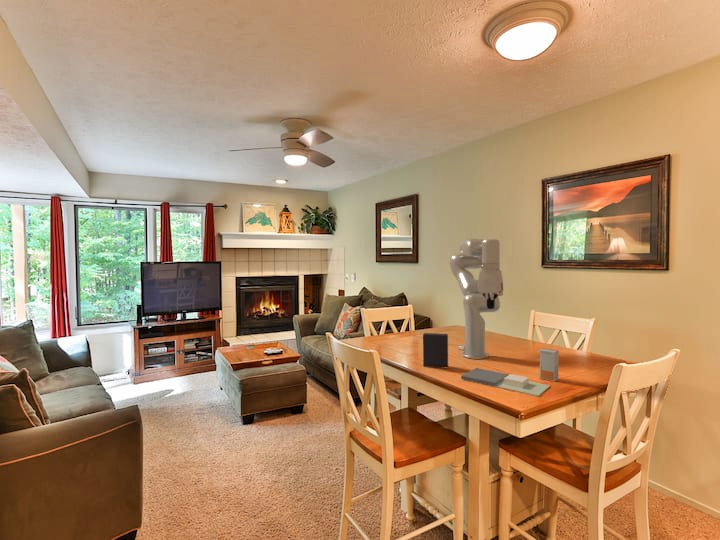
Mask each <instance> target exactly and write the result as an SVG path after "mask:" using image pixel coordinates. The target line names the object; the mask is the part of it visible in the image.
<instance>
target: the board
mask: <svg viewBox="0 0 720 540" xmlns="http://www.w3.org/2000/svg"><path fill="white" fill-rule="evenodd" d="M508 375H510V374H509V373H503V372H500V371H499V372H498V371H493V370H489V369H483V368H478V367H476V368H473V369H471V370H469V371H468V372H466V373H463V374H462V375H460V376H461V377H460V379H464V380H463V381H466V380H468V381H467V382H470V381H473V382H472V383H475V382H477V383H476V384H479V383H481V384H480V385H484V384H486V385H485V386H488V385H490V386H489V387H493V386H495V385H497V384H498V383H500V382H502V381H503V380H504V378H505V377H507V376H508Z"/></svg>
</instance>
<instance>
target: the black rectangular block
mask: <svg viewBox="0 0 720 540" xmlns="http://www.w3.org/2000/svg"><path fill="white" fill-rule="evenodd" d="M422 350H423V351H422V352H423V353H422V355H423V356H422V357H423V358H422V361H423V362H422V366H423V367H425V366H433V367H432V368H441V367H447V368H448V367H449V334H448V333H439V332H438V333H437V332H436V333H433V332H424V333H423V335H422Z"/></svg>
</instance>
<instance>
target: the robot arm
mask: <svg viewBox="0 0 720 540" xmlns="http://www.w3.org/2000/svg"><path fill="white" fill-rule="evenodd" d="M500 243H501V242H500V240H499V239H495V238H491V239H485V238H467V239H463V240H462V241H461V242H460V243H459V251H460V253H456V254H453V255H452V256H451V257H450V260H449V267H450V270H451V273H452V275H453V276H454V278H455V279H456V281H457V282H458V285H459V288H460V291H461V294H462V295H463V300H462V301H463V302H462V303H463V304H462V305H463V311H464V321H465V323H464V326H465V327H464V330H465V331H464V333H465V335H464V337H465V338H464V339H465V345H459V346H458V351H462V353H461V355H462V357H464V358H467V359H472V360H483V359H484V360H485V359H487V358H488V357H489V353H487V352H486V322H485V319H484V317H483V316H482V315H481V314H483V313H496V312H497V311H499V309H500V308H501V301H500V299H499V297H502V296H503V295H504V278H503V274H502V270H500V267H501V265H500V261H501V260H500V256H501V255H500V249H501V247H500ZM467 269H468V270H467ZM469 269H471V270H472V269H473V270H474V269H481V270H479V272H478V278H477V279H475V277H474V275H473V273H472V272H470V271H469Z"/></svg>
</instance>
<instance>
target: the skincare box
mask: <svg viewBox="0 0 720 540" xmlns="http://www.w3.org/2000/svg"><path fill="white" fill-rule="evenodd" d="M559 355H560V353H559V350H558V349H552V348H544V347H543V348H541V349H540V350H539V379H541V380H546V381H550V382H556V381H558V380H559V357H560V356H559Z"/></svg>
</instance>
